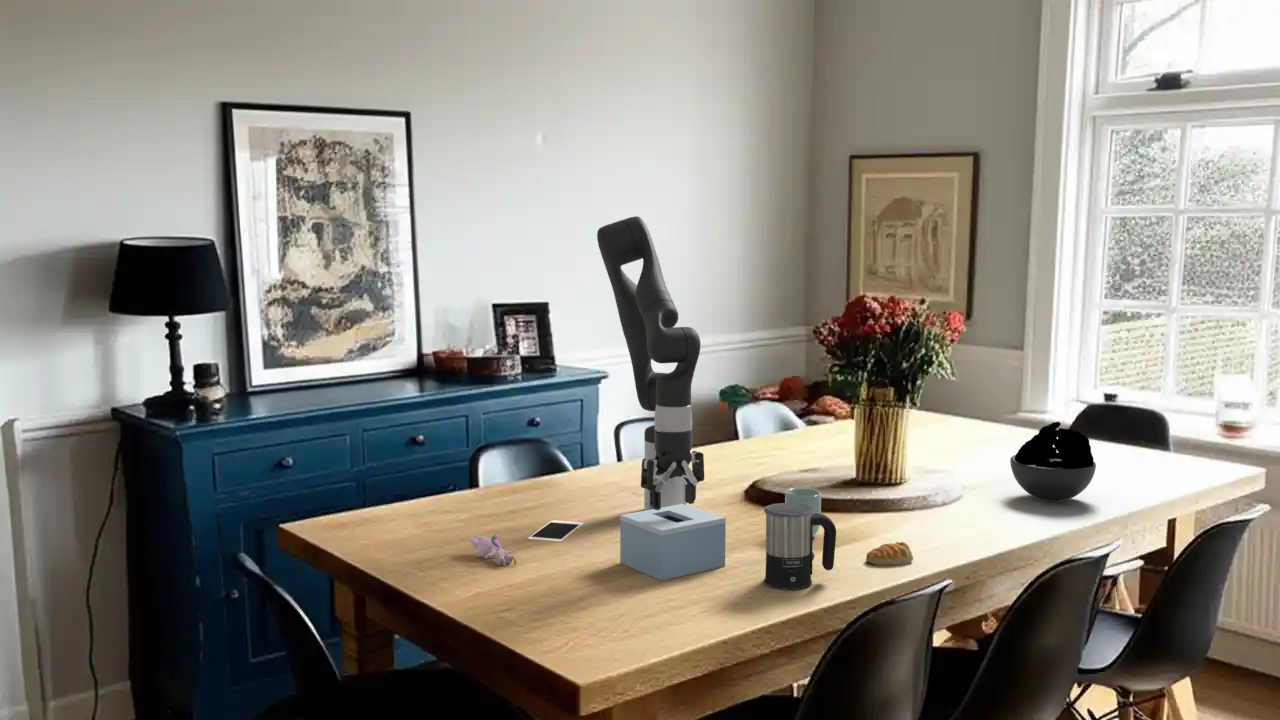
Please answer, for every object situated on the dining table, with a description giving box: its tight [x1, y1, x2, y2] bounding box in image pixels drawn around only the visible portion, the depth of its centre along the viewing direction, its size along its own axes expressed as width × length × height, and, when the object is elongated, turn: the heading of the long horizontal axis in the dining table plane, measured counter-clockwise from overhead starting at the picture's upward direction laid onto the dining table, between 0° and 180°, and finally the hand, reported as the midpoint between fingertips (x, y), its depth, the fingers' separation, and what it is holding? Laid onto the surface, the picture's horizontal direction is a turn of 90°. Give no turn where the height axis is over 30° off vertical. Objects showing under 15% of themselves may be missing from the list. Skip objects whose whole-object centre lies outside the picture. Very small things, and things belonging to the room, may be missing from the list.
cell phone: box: [527, 519, 584, 543], centre depth 262 cm, size 8×16×1 cm, turn 164°
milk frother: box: [763, 502, 837, 590], centre depth 229 cm, size 14×16×15 cm
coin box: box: [619, 504, 727, 581], centre depth 237 cm, size 16×14×10 cm
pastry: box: [865, 541, 914, 566], centre depth 240 cm, size 9×7×4 cm
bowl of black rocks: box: [1009, 421, 1097, 502], centre depth 290 cm, size 20×20×19 cm
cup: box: [784, 487, 822, 537], centre depth 258 cm, size 8×8×10 cm
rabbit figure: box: [467, 534, 518, 569], centre depth 241 cm, size 6×6×15 cm
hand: (672, 506), depth 236 cm, fingers open, 8 cm apart
